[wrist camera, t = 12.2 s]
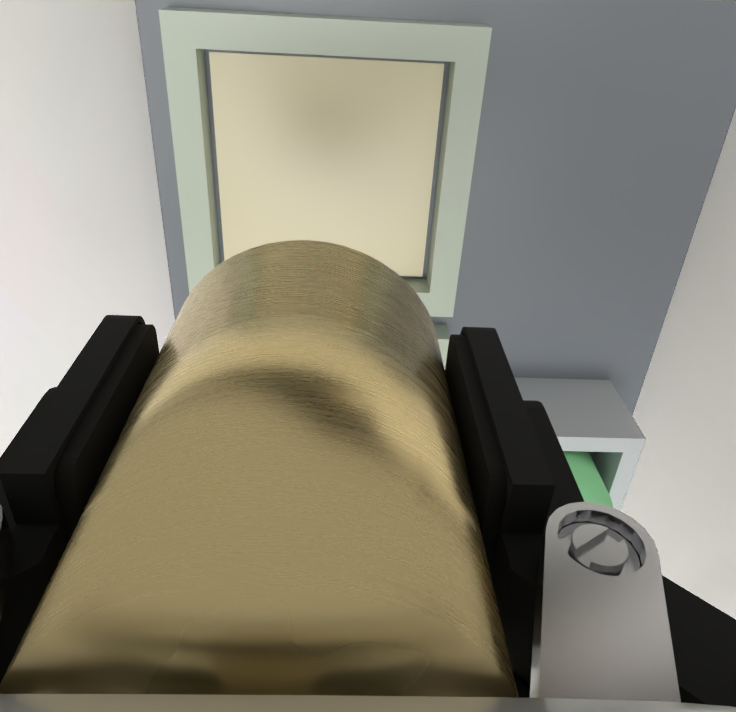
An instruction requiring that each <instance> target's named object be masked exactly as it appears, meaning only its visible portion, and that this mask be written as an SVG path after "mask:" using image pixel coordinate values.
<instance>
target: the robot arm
mask: <svg viewBox="0 0 736 712" xmlns="http://www.w3.org/2000/svg"><path fill="white" fill-rule="evenodd" d="M158 356H159V348H158V341H157V334H156V329H155V327H154V326H153V325H146V324H145V322H144V320H143V318H142V317H141V316H121V315H107V316H105V317H104V319H103V320H102V322H101V323H100V325H99V326H98V328H97V329H96V330H95V332H94V333H93V335H92V336H91V338H90V339H89V341H88V342H87V344H86V345H85V347H84V348H83V350H82V351H81V353H80V354H79V355H78V357H77V358H76V360H75V361H74V363H73V364H72V366H71V367H70V369H69V370H68V372H67V373H66V375H65V376H64V378H63V379H62V380H61V382H60V383H59V385H58V386H57V387H54V388H51V389H49V390H48V391H47V392H46V393H45V394H44V396H43V397H42V399H41V400H40V401H39V403H38V404H37V406H36V407H35V409H34V410H33V412H32V413H31V414H30V416H29V417H28V419H27V420H26V422H25V423H24V424H23V426H22V427H21V429H20V430H19V432H18V433H17V434H16V436H15V437H14V439H13V440H12V442H11V443H10V445H9V446H8V447H7V449H6V450H5V452H4V453H3V455H2V456H1V457H0V684H1V681H2V679H3V677H4V675H5V673H6V671H7V669H8V667H9V665H10V663H11V661H12V658H13V656H14V654H15V652H16V650H17V648H18V646H19V644H20V642H21V640H22V638H23V636H24V634H25V631H26V629H27V627H28V625H29V623H30V621H31V619H32V617H33V615H34V613H35V611H36V609H37V607H38V605H39V602H40V600H41V598H42V596H43V594H44V592H45V590H46V588H47V586H48V584H49V582H50V580H51V578H52V576H53V573H54V571H55V569H56V567H57V565H58V563H59V561H60V559H61V557H62V555H63V553H64V551H65V549H66V546H67V544H68V542H69V540H70V538H71V536H72V534H73V532H74V530H75V528H76V526H77V524H78V522H79V520H80V517H81V515H82V513H83V511H84V509H85V507H86V505H87V503H88V501H89V499H90V497H91V495H92V493H93V490H94V488H95V486H96V484H97V482H98V480H99V478H100V476H101V474H102V472H103V470H104V468H105V466H106V464H107V461H108V459H109V457H110V455H111V453H112V451H113V449H114V447H115V445H116V443H117V441H118V439H119V437H120V434H121V432H122V430H123V428H124V426H125V424H126V422H127V420H128V418H129V416H130V414H131V412H132V410H133V408H134V405H135V403H136V401H137V399H138V397H139V395H140V393H141V391H142V389H143V387H144V385H145V383H146V381H147V378H148V376H149V374H150V372H151V370H152V368H153V366H154V364H155V362H156V360H157V358H158ZM445 374H446V378H447V383H448V387H449V392H450V396H451V400H452V405H453V409H454V414H455V418H456V422H457V427H458V431H459V436H460V440H461V445H462V449H463V453H464V458H465V462H466V467H467V471H468V476H469V480H470V484H471V489H472V493H473V498H474V502H475V506H476V511H477V515H478V520H479V524H480V529H481V533H482V537H483V542H484V546H485V551H486V555H487V560H488V564H489V568H490V573H491V577H492V582H493V586H494V590H495V595H496V599H497V604H498V608H499V613H500V617H501V621H502V626H503V630H504V635H505V639H506V644H507V648H508V652H509V657H510V661H511V666H512V670H513V674H514V679H515V683H516V688H517V692H518V697H519V698H510V697H427V696H335V695H189V694H0V712H736V620H735V619H734V618H732V617H730V616H729V615H727V614H725V613H724V612H722V611H720V610H719V609H717V608H715V607H714V606H712V605H710V604H709V603H707V602H705V601H704V600H702V599H700V598H699V597H697V596H695V595H694V594H692V593H690V592H689V591H687V590H685V589H684V588H682V587H680V586H679V585H677V584H675V583H674V582H672V581H671V580H669V579H667V578H666V577H664V576H662V574H661V567H660V561H659V554H658V551H657V548H656V546H655V543H654V540H653V539H652V538H651V536H650V535H649V534H648V532H647V531H646V530H645V528H644V527H642V526H641V525H640V524H639V523H638V522H636V521H635V520H634V519H633V518H631V517H630V516H628V515H626V514H624V513H622V512H621V511H619V510H617V509H615V508H612V507H608V506H605V505H602V504H599V503H590V502H584V499H583V497H582V495H581V492H580V490H579V488H578V485H577V483H576V480H575V478H574V476H573V473H572V471H571V469H570V466H569V464H568V462H567V459H566V457H565V455H564V452H563V450H562V448H561V445H560V443H559V440H558V438H557V436H556V433H555V431H554V429H553V426H552V424H551V422H550V419H549V417H548V415H547V412H546V410H545V408H544V406H543V404H542V403H541V402H539V401H534V400H523V399H522V396H521V393H520V391H519V388H518V386H517V383H516V380H515V378H514V375H513V373H512V370H511V367H510V365H509V362H508V360H507V357H506V354H505V352H504V349H503V347H502V344H501V341H500V339H499V336H498V334H497V331H496V329H495V328H488V327H463V328H462V330H461V333H460V335H457V334H451V336H450V338H449V344H448V352H447V359H446V366H445Z"/></svg>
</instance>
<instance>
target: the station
mask: <svg viewBox="0 0 736 712" xmlns="http://www.w3.org/2000/svg"><path fill="white" fill-rule="evenodd" d="M135 4H136V12H137V20H138V28H139V36H140V44H141V52H142V60H143V68H144V76H145V84H146V92H147V100H148V108H149V116H150V124H151V132H152V140H153V148H154V156H155V164H156V172H157V180H158V188H159V196H160V204H161V212H162V220H163V228H164V235H165V243H166V251H167V259H168V267H169V275H170V283H171V291H172V299H173V307H174V315H175V320H176V318H177V316H178V314H179V312H180V310H181V308H182V306H183V304H184V302H185V300H186V299H187V297H188V296H189V294H190V293H191V291H192V290H193V288H194V287H195V286H196V285H197V284H198V283H199V282H200V281H201V279H202V278H203V277H204V276H205V275H207V274H208V273H209V272H210V271H211V270H213V269H214V268H215V267H216V266H217V265H219V264H221V263H222V262H224V261H226V260H227V259H229V258H231V257H232V256H234V255H236V254H239V253H241V252H243V251H246V250H248V249H250V248H254V247H257V246H261V245H264V244H268V243H274V242H281V241H290V240H311V241H321V242H328V243H333V244H337V245H342V246H346V247H349V248H351V249H354V250H357V251H360V252H362V253H365V254H367V255H369V256H371V257H372V258H374V259H376V260H378V261H380V262H382V263H383V264H385V265H386V266H388V267H389V268H390V269H392V270H393V271H395V272H396V273H397V274H398V275H399V276H400V277H401V278H403V279H404V280H405V281H406V282H407V283H408V284H409V285H410V286H411V288H412V289H413V290H414V291H415V292H416V293H417V295H418V296H419V297H420V299H421V301H422V302H423V304H424V305H425V307H426V309H427V310H428V312H429V315H430V317H431V319H432V322H433V324H434V327H435V331H436V335H437V339H438V343H439V347H440V352H441V356H442V361H443V365H444V369H445V366H446V359H447V352H448V344H449V338H450V336H451V334H457V335H460V333H461V330H462V328H463V327H488V328H495V329H496V331H497V334H498V336H499V339H500V341H501V344H502V347H503V349H504V352H505V354H506V357H507V360H508V362H509V365H510V367H511V370H512V373H513V375H514V378H515V380H516V383H517V386H518V388H519V391H520V393H521V396H522V399H523V400H534V401H539V402H541V403H542V404H543V406H544V408H545V410H546V412H547V415H548V417H549V419H550V422H551V424H552V426H553V429H554V431H555V433H556V436H557V438H558V440H559V443H560V445H561V448H562V450H563V451H584V452H589V453H590V456H591V458H592V460H593V462H594V464H595V466H596V468H597V470H598V472H599V474H600V476H601V479H602V481H603V483H604V485H605V487H606V489H607V491H608V493H609V495H610V497H611V500H612V504H613V508H615V509H617V510H619V511H620V510H621V507H622V504H623V501H624V498H625V496H626V493H627V490H628V487H629V485H630V482H631V479H632V476H633V473H634V471H635V468H636V465H637V462H638V459H639V457H640V454H641V451H642V448H643V445H644V443H645V440H646V438H645V437H644V435H643V433H642V432H641V430H640V428H639V427H638V425H637V423H636V422H635V420H634V418H633V417H632V415H633V412H634V409H635V406H636V403H637V400H638V397H639V394H640V391H641V388H642V385H643V382H644V379H645V376H646V373H647V370H648V367H649V364H650V361H651V358H652V355H653V352H654V349H655V346H656V343H657V340H658V337H659V334H660V331H661V328H662V325H663V322H664V319H665V316H666V313H667V310H668V307H669V305H670V302H671V299H672V296H673V293H674V290H675V287H676V284H677V281H678V278H679V275H680V272H681V269H682V266H683V263H684V260H685V257H686V254H687V251H688V248H689V245H690V242H691V239H692V236H693V233H694V230H695V227H696V224H697V221H698V218H699V215H700V212H701V209H702V206H703V203H704V200H705V197H706V194H707V191H708V188H709V185H710V182H711V179H712V176H713V173H714V170H715V167H716V164H717V162H718V159H719V156H720V153H721V150H722V147H723V144H724V141H725V138H726V135H727V132H728V129H729V126H730V123H731V120H732V117H733V114H734V111H735V108H736V1H732V0H135Z"/></svg>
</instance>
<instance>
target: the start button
mask: <svg viewBox="0 0 736 712" xmlns="http://www.w3.org/2000/svg"><path fill="white" fill-rule="evenodd" d="M563 452H564V455H565V457H566V459H567V462H568V464H569V466H570V469H571V471H572V473H573V476H574V478H575V480H576V483H577V485H578V488H579V490H580V492H581V495H582V497H583V499H584V502H590V503H599V504H602V505H605V506H608V507H612V508H613V504H612V500H611V497H610V495H609V493H608V491H607V489H606V487H605V485H604V483H603V481H602V479H601V476H600V474H599V472H598V470H597V468H596V466H595V464H594V462H593V460H592V458H591V456H590V453H589V452H584V451H563Z"/></svg>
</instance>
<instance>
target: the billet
mask: <svg viewBox="0 0 736 712" xmlns="http://www.w3.org/2000/svg"><path fill="white" fill-rule="evenodd" d="M0 694H189V695H335V696H427V697H510V698H519V697H518V692H517V688H516V683H515V679H514V674H513V670H512V666H511V661H510V657H509V652H508V648H507V644H506V639H505V635H504V630H503V626H502V621H501V617H500V613H499V608H498V604H497V599H496V595H495V590H494V586H493V582H492V577H491V573H490V568H489V564H488V560H487V555H486V551H485V546H484V542H483V537H482V533H481V529H480V524H479V520H478V515H477V511H476V506H475V502H474V498H473V493H472V489H471V484H470V480H469V476H468V471H467V467H466V462H465V458H464V453H463V449H462V445H461V440H460V436H459V431H458V427H457V422H456V418H455V414H454V409H453V405H452V400H451V396H450V392H449V387H448V383H447V378H446V374H445V369H444V365H443V361H442V356H441V352H440V347H439V343H438V339H437V335H436V331H435V327H434V324H433V322H432V319H431V317H430V315H429V312H428V310H427V309H426V307H425V305H424V304H423V302H422V301H421V299H420V297H419V296H418V295H417V293H416V292H415V291H414V290H413V289H412V288H411V286H410V285H409V284H408V283H407V282H406V281H405V280H404V279H403V278H401V277H400V276H399V275H398V274H397V273H396V272H395V271H393V270H392V269H390V268H389V267H388V266H386V265H385V264H383V263H382V262H380V261H378V260H376V259H374V258H372V257H371V256H369V255H367V254H365V253H362V252H360V251H357V250H354V249H351V248H349V247H346V246H342V245H337V244H333V243H328V242H321V241H311V240H290V241H281V242H274V243H268V244H264V245H261V246H257V247H254V248H250V249H248V250H246V251H243V252H241V253H239V254H236V255H234V256H232V257H231V258H229V259H227V260H226V261H224V262H222V263H221V264H219V265H217V266H216V267H215V268H214V269H213V270H211V271H210V272H209V273H208V274H207V275H205V276H204V277H203V278H202V279H201V281H200V282H199V283H198V284H197V285H196V286H195V287H194V288H193V290H192V291H191V293H190V294H189V296H188V297H187V299H186V300H185V302H184V304H183V306H182V308H181V310H180V312H179V314H178V316H177V318H176V320H175V322H174V325H173V327H172V329H171V331H170V333H169V335H168V337H167V339H166V341H165V343H164V345H163V347H162V349H161V352H160V354H159V356H158V358H157V360H156V362H155V364H154V366H153V368H152V370H151V372H150V374H149V376H148V378H147V381H146V383H145V385H144V387H143V389H142V391H141V393H140V395H139V397H138V399H137V401H136V403H135V405H134V408H133V410H132V412H131V414H130V416H129V418H128V420H127V422H126V424H125V426H124V428H123V430H122V432H121V434H120V437H119V439H118V441H117V443H116V445H115V447H114V449H113V451H112V453H111V455H110V457H109V459H108V461H107V464H106V466H105V468H104V470H103V472H102V474H101V476H100V478H99V480H98V482H97V484H96V486H95V488H94V490H93V493H92V495H91V497H90V499H89V501H88V503H87V505H86V507H85V509H84V511H83V513H82V515H81V517H80V520H79V522H78V524H77V526H76V528H75V530H74V532H73V534H72V536H71V538H70V540H69V542H68V544H67V546H66V549H65V551H64V553H63V555H62V557H61V559H60V561H59V563H58V565H57V567H56V569H55V571H54V573H53V576H52V578H51V580H50V582H49V584H48V586H47V588H46V590H45V592H44V594H43V596H42V598H41V600H40V602H39V605H38V607H37V609H36V611H35V613H34V615H33V617H32V619H31V621H30V623H29V625H28V627H27V629H26V631H25V634H24V636H23V638H22V640H21V642H20V644H19V646H18V648H17V650H16V652H15V654H14V656H13V658H12V661H11V663H10V665H9V667H8V669H7V671H6V673H5V675H4V677H3V679H2V681H1V684H0Z"/></svg>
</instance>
